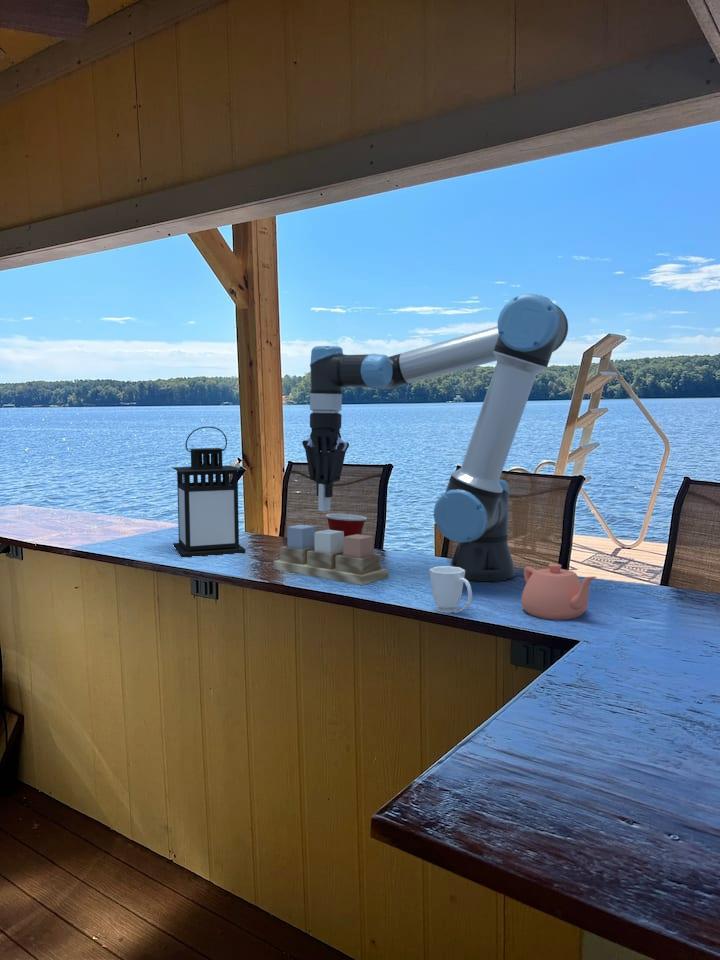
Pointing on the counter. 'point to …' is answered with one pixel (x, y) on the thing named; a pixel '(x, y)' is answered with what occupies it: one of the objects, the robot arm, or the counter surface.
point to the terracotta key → (358, 546)
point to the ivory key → (329, 541)
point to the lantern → (207, 505)
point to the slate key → (301, 536)
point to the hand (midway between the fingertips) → (324, 510)
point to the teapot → (555, 593)
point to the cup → (449, 588)
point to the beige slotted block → (331, 565)
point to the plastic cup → (346, 523)
